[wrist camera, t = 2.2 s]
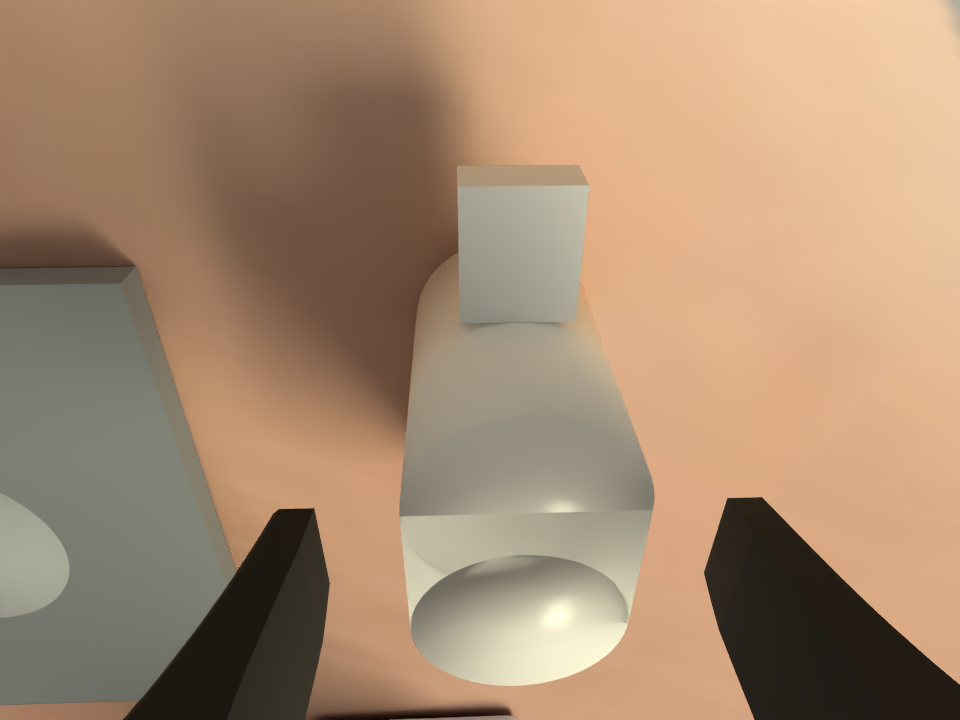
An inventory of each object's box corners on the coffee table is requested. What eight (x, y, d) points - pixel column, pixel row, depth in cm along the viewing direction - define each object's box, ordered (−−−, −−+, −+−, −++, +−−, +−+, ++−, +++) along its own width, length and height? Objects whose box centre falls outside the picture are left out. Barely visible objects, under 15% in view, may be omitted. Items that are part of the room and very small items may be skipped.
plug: (569, 472, 18) (614, 681, 13) (426, 476, 18) (416, 689, 13) (608, 125, 13) (709, 254, 8) (404, 126, 13) (374, 259, 8)
